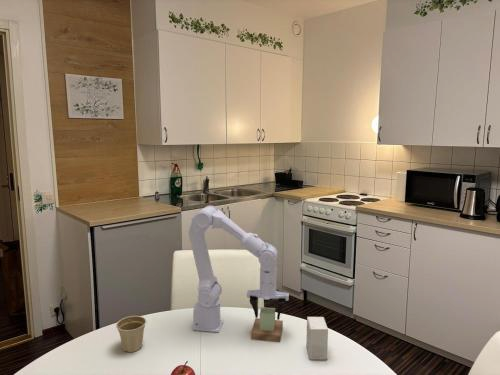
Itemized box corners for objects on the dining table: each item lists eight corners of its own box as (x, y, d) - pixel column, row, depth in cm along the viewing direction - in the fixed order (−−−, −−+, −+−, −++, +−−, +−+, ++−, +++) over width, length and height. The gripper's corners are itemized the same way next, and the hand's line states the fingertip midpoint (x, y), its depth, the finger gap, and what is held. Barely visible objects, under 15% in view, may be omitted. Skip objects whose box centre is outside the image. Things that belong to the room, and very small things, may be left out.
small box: (327, 360, 118) (328, 329, 116) (309, 360, 118) (310, 329, 116) (322, 345, 126) (324, 316, 124) (306, 345, 126) (307, 316, 124)
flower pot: (112, 347, 124) (110, 323, 123) (137, 335, 131) (136, 312, 130) (126, 359, 118) (125, 333, 116) (152, 346, 125) (151, 322, 123)
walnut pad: (251, 340, 129) (251, 332, 129) (255, 325, 139) (255, 318, 138) (280, 343, 128) (280, 335, 127) (282, 328, 137) (282, 320, 137)
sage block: (259, 330, 130) (259, 314, 129) (261, 322, 135) (261, 307, 134) (273, 331, 130) (274, 315, 129) (274, 323, 135) (275, 308, 134)
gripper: (245, 284, 127) (245, 321, 129) (288, 287, 125) (287, 325, 127) (248, 275, 134) (248, 311, 136) (289, 278, 132) (288, 314, 134)
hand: (267, 317), depth 132 cm, fingers open, 7 cm apart
